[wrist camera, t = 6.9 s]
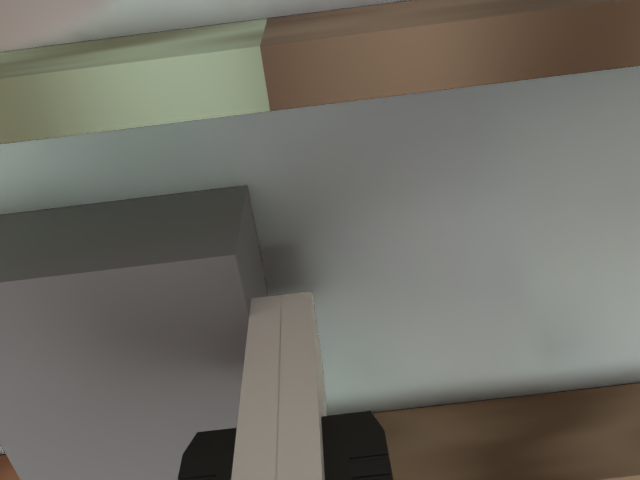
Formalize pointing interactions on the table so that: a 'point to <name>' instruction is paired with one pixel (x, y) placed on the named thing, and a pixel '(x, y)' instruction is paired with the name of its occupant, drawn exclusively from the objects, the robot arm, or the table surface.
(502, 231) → the table surface
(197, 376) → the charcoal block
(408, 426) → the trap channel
